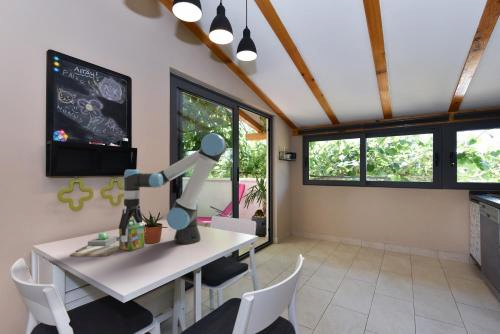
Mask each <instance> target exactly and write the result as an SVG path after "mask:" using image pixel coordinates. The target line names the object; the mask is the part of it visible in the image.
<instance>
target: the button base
mask: <svg viewBox="0 0 500 334" xmlns="http://www.w3.org/2000/svg"><path fill="white" fill-rule="evenodd" d="M114 242H115V243H116V242H117V236H110V235H109V236H107V239H106V240H98V236H97V237H95V238H93V239H90V240H88V241H87V246H108V245H109V246H111V245H112V243H113V244H114ZM110 244H111V245H110Z"/></svg>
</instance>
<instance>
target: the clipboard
mask: <svg viewBox="0 0 500 334" xmlns="http://www.w3.org/2000/svg"><path fill="white" fill-rule="evenodd" d="M118 250H120V249H119V245H117V246H116V245H113V246H112V245H109V246H88V245H87V246H84V247H81V248H79V249H76V250H75V251H74V252H72V253H70V254H69V256H70V257H107V256H109V255H111V254H112V253H114V252H116V251H118Z"/></svg>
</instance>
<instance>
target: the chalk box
mask: <svg viewBox="0 0 500 334" xmlns="http://www.w3.org/2000/svg"><path fill="white" fill-rule="evenodd" d="M134 220H135V219H134V218H132V219H130V221H129V223H130V222H133V224H132V225H130V224H129V223H128V226H127V228H126V229H128V238H127V242H121V238H122V229H119V228H118V235H119V236H118V237H119V239H118V244H119V245H118V246H119V249H118V250H122V251H129V252H132V251H134V250H138V249H140V248H141V249H142V248H144V247H145V234H144V233H145V225H143V226H141V225H135V221H134Z"/></svg>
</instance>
